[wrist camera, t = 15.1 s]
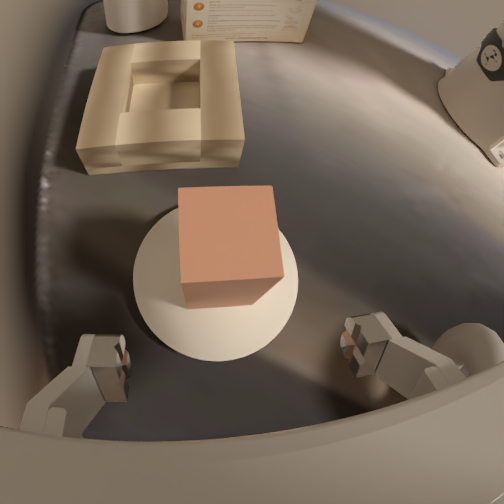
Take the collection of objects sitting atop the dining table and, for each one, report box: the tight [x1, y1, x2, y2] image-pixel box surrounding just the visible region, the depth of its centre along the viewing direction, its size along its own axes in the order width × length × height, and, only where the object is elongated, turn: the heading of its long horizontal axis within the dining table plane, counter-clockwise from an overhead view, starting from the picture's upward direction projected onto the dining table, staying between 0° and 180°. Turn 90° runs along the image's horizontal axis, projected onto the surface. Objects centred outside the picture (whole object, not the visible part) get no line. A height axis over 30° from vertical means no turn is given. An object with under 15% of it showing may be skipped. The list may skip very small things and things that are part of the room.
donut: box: [431, 323, 504, 376], centre depth 19 cm, size 10×3×10 cm, turn 169°
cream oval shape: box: [133, 208, 298, 361], centre depth 24 cm, size 12×12×1 cm
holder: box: [76, 40, 245, 175], centre depth 26 cm, size 13×13×4 cm
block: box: [178, 186, 284, 309], centre depth 19 cm, size 4×4×9 cm
